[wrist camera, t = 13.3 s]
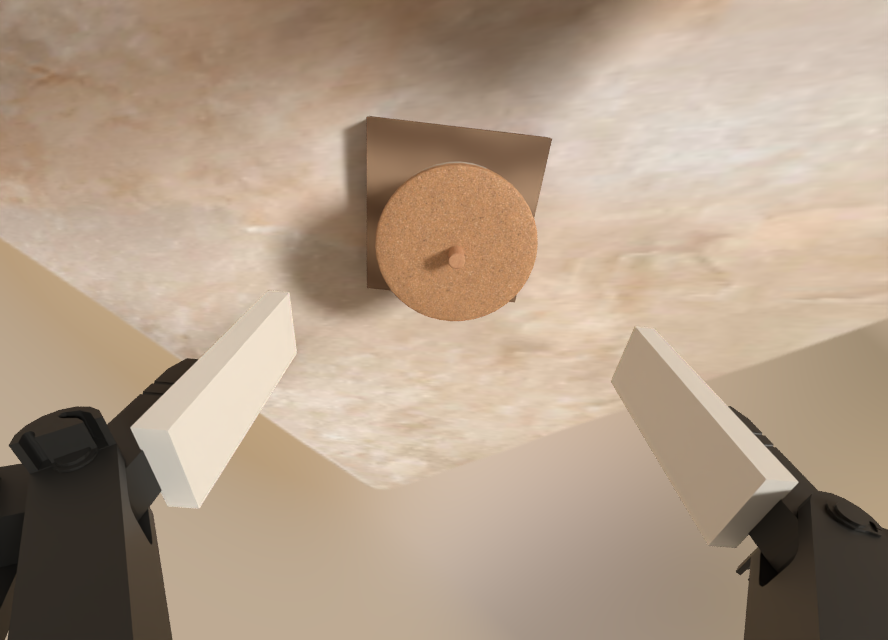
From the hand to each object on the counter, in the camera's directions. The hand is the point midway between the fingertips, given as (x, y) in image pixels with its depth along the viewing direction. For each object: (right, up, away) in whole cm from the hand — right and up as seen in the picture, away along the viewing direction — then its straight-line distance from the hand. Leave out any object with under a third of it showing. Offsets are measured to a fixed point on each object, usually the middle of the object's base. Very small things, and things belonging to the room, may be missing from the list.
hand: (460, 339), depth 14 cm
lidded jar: (0, +9, +17) cm, 19 cm away
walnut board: (0, +10, +18) cm, 21 cm away
